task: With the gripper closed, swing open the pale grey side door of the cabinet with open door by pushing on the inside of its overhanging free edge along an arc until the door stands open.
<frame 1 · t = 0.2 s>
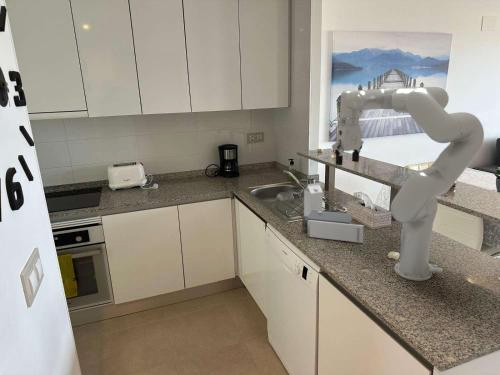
hand: (347, 163, 144), 36 cm above the worktop, tool pointing down, fingers open, 9 cm apart
milk carton: (313, 217, 185), on the worktop
cabinet with open door: (329, 233, 164), on the worktop
side door: (334, 231, 155), point 4 cm above the worktop, hinge at 0.0°
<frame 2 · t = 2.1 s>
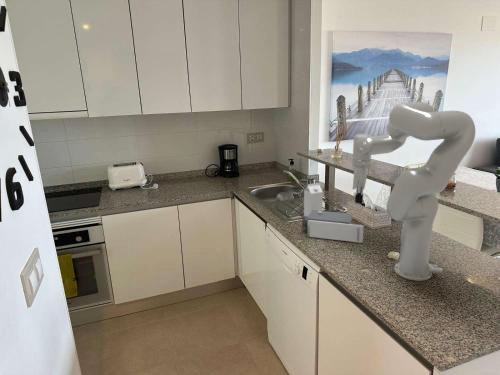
hand: (358, 202, 154), 17 cm above the worktop, tool pointing down, fingers closed
nothing on the worktop moved.
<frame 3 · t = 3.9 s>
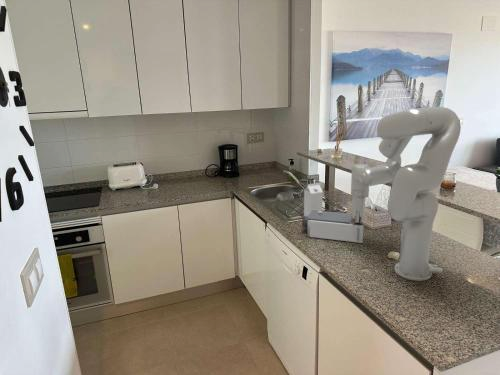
hand: (357, 231, 155), 4 cm above the worktop, tool pointing down, fingers closed
side door: (334, 231, 155), point 4 cm above the worktop, hinge at 0.1°, touching gripper
everything else where it was.
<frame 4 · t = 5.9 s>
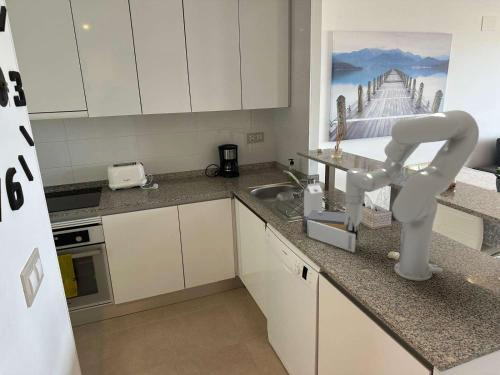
hand: (353, 239, 147), 5 cm above the worktop, tool pointing down, fingers closed
side door: (329, 235, 151), point 4 cm above the worktop, hinge at 26.1°, touching gripper
everything else where it was.
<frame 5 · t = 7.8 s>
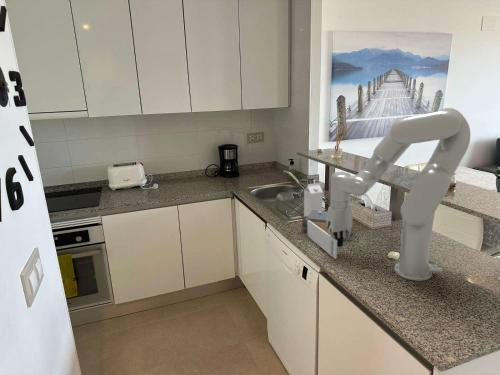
hand: (338, 245, 141), 5 cm above the worktop, tool pointing down, fingers closed
side door: (320, 237, 149), point 5 cm above the worktop, hinge at 51.1°, touching gripper
everything else where it was.
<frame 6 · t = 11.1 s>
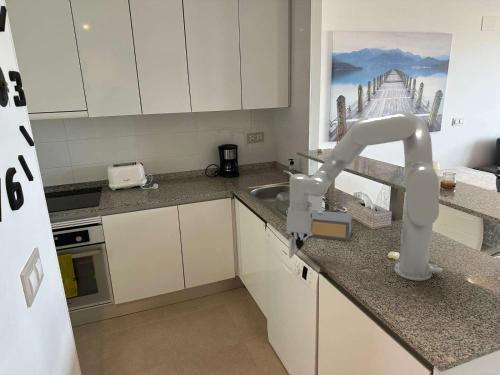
hand: (299, 247, 141), 5 cm above the worktop, tool pointing down, fingers closed
side door: (299, 237, 150), point 4 cm above the worktop, hinge at 96.1°, touching cabinet with open door, gripper
everything else where it was.
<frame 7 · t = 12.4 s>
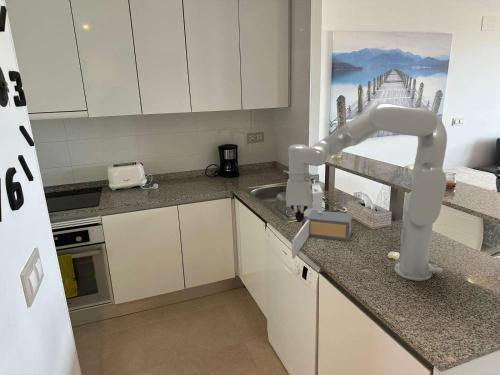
hand: (299, 221, 137), 16 cm above the worktop, tool pointing down, fingers closed
side door: (300, 237, 150), point 5 cm above the worktop, hinge at 92.9°, touching cabinet with open door
everything else where it was.
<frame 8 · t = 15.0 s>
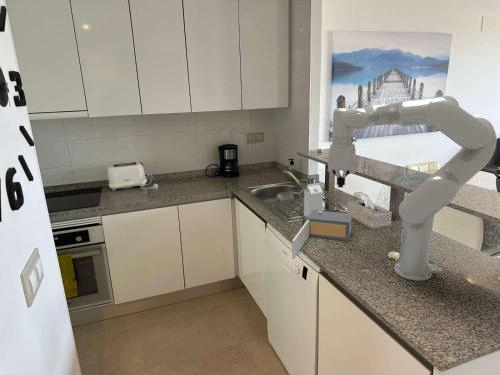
hand: (340, 186, 137), 29 cm above the worktop, tool pointing down, fingers closed
nothing on the worktop moved.
at the end: side door at +93° (first picture: +0°); milk carton moved 0.2 cm from its start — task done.
